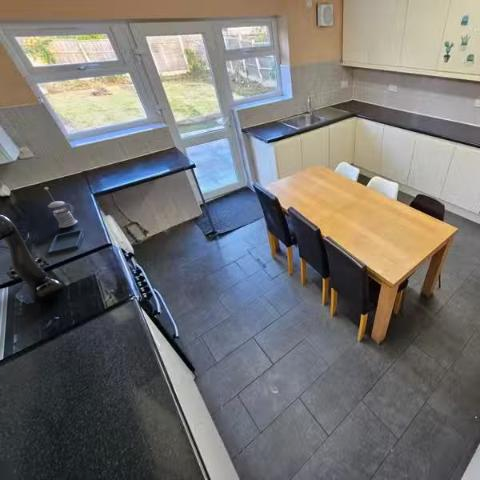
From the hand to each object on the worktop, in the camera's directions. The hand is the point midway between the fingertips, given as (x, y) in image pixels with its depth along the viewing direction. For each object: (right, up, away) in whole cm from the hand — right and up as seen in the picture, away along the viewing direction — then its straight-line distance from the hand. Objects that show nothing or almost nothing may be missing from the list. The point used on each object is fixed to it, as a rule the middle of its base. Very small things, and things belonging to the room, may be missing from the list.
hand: (23, 262), depth 133 cm
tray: (-2, +9, +26) cm, 27 cm away
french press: (-16, +22, +42) cm, 50 cm away
